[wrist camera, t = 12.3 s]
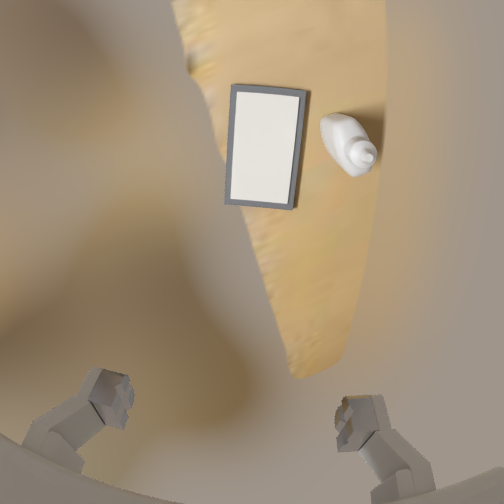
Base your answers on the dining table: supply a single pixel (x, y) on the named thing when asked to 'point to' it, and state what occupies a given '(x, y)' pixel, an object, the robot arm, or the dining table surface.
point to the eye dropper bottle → (348, 143)
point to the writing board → (230, 144)
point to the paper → (263, 146)
